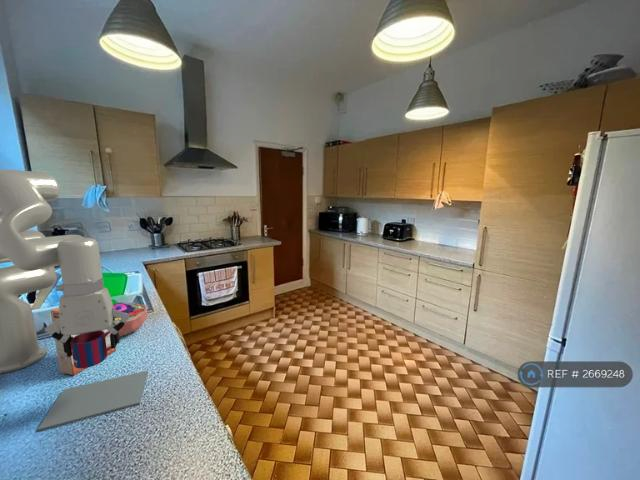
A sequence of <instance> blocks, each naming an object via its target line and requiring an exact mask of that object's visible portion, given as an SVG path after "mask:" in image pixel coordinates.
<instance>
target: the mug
mask: <svg viewBox="0 0 640 480" xmlns="http://www.w3.org/2000/svg"><path fill="white" fill-rule="evenodd" d="M109 333H111V332H109V331H108V332H106V333H104V331H95V332H89V333H83V334H79V335H77V336H75V337H74V338H72V339H71V341H70V343H71V350H72V356H73V362H74V367H76V368H85V369H88V368H91V367H94V366H97V365H99V364H100V363H102V362H104V361H105V360H107V358H108V355H107V351H109V350H110V349H112V348H111V346H110V347H108V348H107V347H106V340H105V337H106V336H107V335H108V334H109ZM120 338H121V336H120V334H119V339H120Z"/></svg>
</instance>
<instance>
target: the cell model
mask: <svg viewBox="0 0 640 480" xmlns="http://www.w3.org/2000/svg"><path fill="white" fill-rule="evenodd" d="M113 307H114V310H118V311H121V312H124V313H127V314H129V315H130V316H129V318H128V320H127V321H126V323H125V324H124V326H123V327H122V328H121V329H120V330H119V334H120V337H121V336H122V337H123V336H126V335H128V334H131V333H133V332H136V331H138V330H139V329H141V327H142V325H143V324H144V322H145V321H146V320H147V319H148V316H149V315H148V309H147V306H146V305H144V304H139V303H134V302H132V303H131V302H130V303H125V302H115V303H114V304H113ZM120 321H121V318H118V317H115V320H114V322H115V323H116V324H118V323H119V322H120Z"/></svg>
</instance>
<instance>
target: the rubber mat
mask: <svg viewBox="0 0 640 480" xmlns="http://www.w3.org/2000/svg"><path fill="white" fill-rule="evenodd" d="M148 374H149V370H144V371H140V372H135V373H131V374H125V375H121V376H117V377H113V378H109V379H108V378H107V379H103V380H100V381H96V382H91V383H86V384H82V385H78V386H73V387H69V388H64V389H63V390H62V391H61V393H60V394H59V396H58V397H57V399H56V401H55V402H54V404H53V405H52V407H51V408H50V409H49V411H48V413H47V414H46V416H45V417H44V419H43V420H42V422H41V423H40V425H39V427H38V428H37V432H38V433H39V432H42V431H45V430H49V429H53V428H56V427H60V426H65V425H68V424H72V423H75V422H79V421H84V420H87V419H90V418H95V417H99V416H103V415H105V414H109V413H112V412H116V411H120V410H124V409H128V408H131V407H134V406H138V405H141V401H142V398H143V392H144V389H145V386H146V385H145V384H146V381H147V377H148Z"/></svg>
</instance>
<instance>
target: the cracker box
mask: <svg viewBox="0 0 640 480" xmlns="http://www.w3.org/2000/svg"><path fill="white" fill-rule="evenodd" d="M50 317H51V322H52V323H53V322H55V321H56V320H58V319H59V306H58V307H56V308H52V309H51V310H50ZM52 323H51V324H52ZM56 328H57V330H60V325H59V326H57V327H56ZM101 331H104V333H106V332H108V330H107V329H105V330H101ZM110 334H111V333H109V334H108V335H107V336H106V337H105V340H106V347H107V348H108V347H110V346H111V342H110ZM77 335H79V334H77ZM77 335H71V337H73V338H74V337H75V336H77ZM54 342H55V349H56V354H57V362H58V367H59V369H58V370H59V373H60V374H66V375H71V376H75V375H77V374H79V373H80V372H82V371H84V370H86V368H76V367H74V362H73V356H71V357H67V353H65V352H64V347H63V343H60V341H59V340H57V339H55V338H54ZM116 351H117V346H116V347H115V348H114V349H110V350H109V351H107V356H109V355H110V354H112V353H114V352H116Z"/></svg>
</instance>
